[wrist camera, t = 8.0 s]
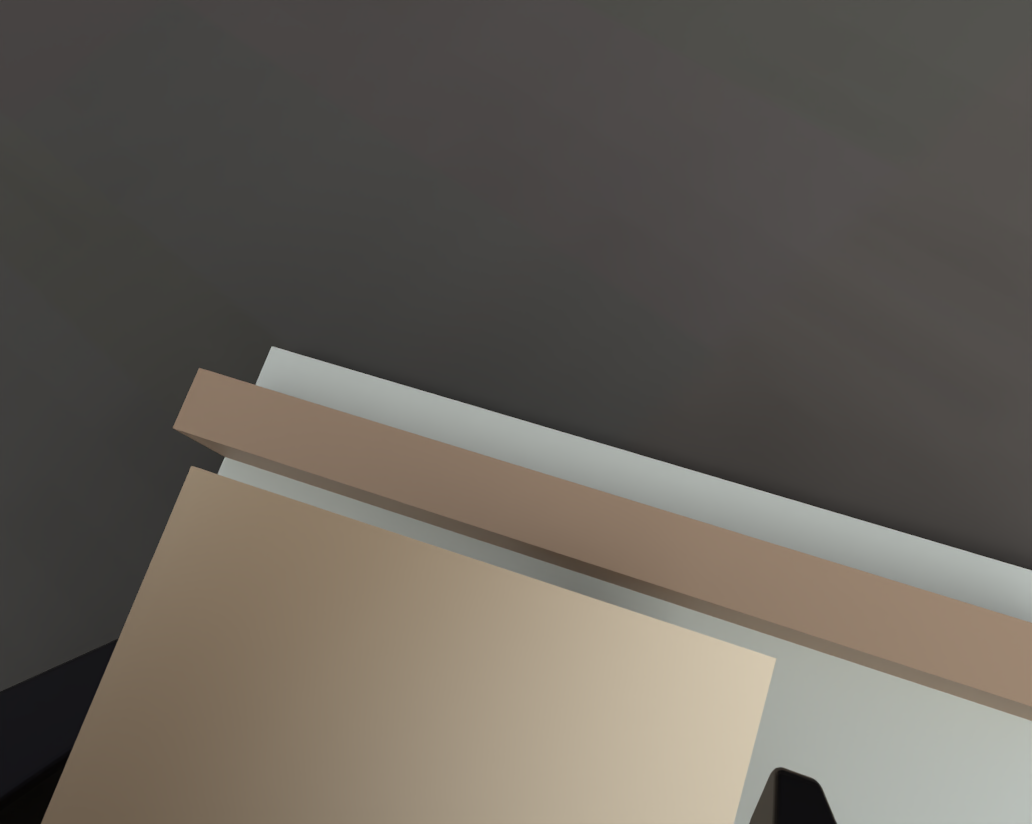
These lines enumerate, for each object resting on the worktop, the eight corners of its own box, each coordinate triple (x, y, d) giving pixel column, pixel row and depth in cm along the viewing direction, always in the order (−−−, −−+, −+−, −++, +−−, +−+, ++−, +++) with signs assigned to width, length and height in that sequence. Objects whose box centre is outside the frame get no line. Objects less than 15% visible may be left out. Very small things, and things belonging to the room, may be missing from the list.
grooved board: (1059, 591, 17) (1153, 571, 14) (917, 1344, 14) (997, 1529, 11) (289, 362, 20) (227, 305, 17) (49, 935, 17) (-76, 989, 14)
